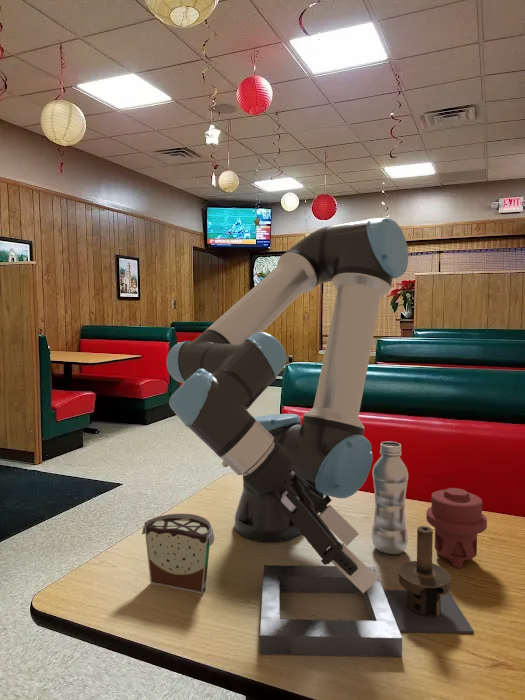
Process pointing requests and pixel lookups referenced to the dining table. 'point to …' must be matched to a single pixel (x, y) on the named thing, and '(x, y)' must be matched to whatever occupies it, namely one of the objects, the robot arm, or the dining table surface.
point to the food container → (178, 550)
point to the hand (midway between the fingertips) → (360, 560)
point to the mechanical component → (456, 524)
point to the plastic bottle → (390, 500)
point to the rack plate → (325, 634)
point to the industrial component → (424, 577)
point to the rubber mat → (413, 622)
